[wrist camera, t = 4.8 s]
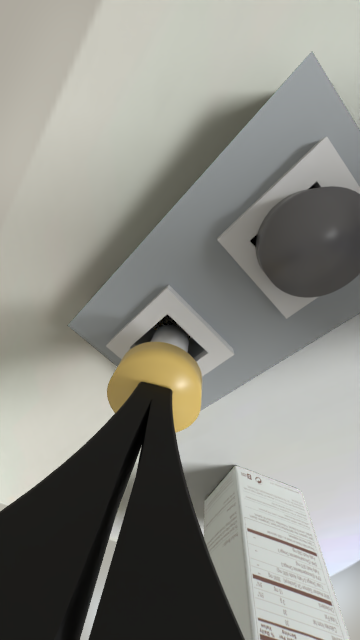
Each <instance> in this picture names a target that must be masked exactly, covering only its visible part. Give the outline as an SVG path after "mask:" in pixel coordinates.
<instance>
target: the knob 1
mask: <svg viewBox="0 0 360 640" xmlns="http://www.w3.org/2000/svg"><path fill="white" fill-rule="evenodd" d="M188 346H189V339H188V336H187V334H186V333H185V331H184V330H182V329H181V328H179V327H177V326H174V325H165V326H162V327H160V328H158V329H157V330H156V331H155V333H154V335H153V337H152V340H151V342H146V343H142V344H139V345H137V346H135V347H133V348H132V349H130V350H129V351H128V352H127V353H126V354H125V355H124V357H123V358H122V360H121V362H120V364H119V365H118V367H117V369H116V371H115V372H114V374H113V376H112V377H111V379H110V381H109V384H108V388H107V397H108V401H109V403H110V406H111V408H112V409H113V411H114V412H115V413H116V412H117V411H118V410H119V409H120V407H121V406H122V405H123V404H124V403H125V402H126V400H127V399H128V398H129V397H130V395H131V394H132V393H133V391H134V390H135V388H136V387H137V385H138V384H139V383H140V382H146V383H150V384H154V385H158V386H162V387H166V388H170V389H171V390H172V391H173V394H172V408H173V420H174V427H175V432H179V431H181V430H183V429H185V428H187V427H188V426H190V425H191V424H192V423H193V422H194V421H195V420H196V419H197V417H198V415H199V412H200V409H201V395H202V374H201V370H200V367H199V366H198V364H197V362H196V361H195V360H194V358H193V357H192V356H191V355H190V354H188V353H187V352H188Z"/></svg>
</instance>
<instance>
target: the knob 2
mask: <svg viewBox="0 0 360 640" xmlns="http://www.w3.org/2000/svg"><path fill="white" fill-rule="evenodd" d="M255 248H256V256H257V260H258V263H259V265H260V267H261V269H262V270H263V272H264V273H265V274H266V276H267V277H268V278H269V279H270V281H271V282H272V283H273V284H274V285H275V286H276V287H277V288H279V289H280V290H281V291H283V292H285V293H287V294H290V295H292V296H297V297H304V298H311V297H319V296H323V295H327V294H330V293H332V292H335V291H337V290H339V289H341V288H342V287H344V286H346V285H347V284H348V283H350V282H351V281H352V280H353V279H355V278H356V277H357V276H358V275H359V274H360V194H359V193H357V192H356V191H353V190H351V189H348V188H344V187H336V186H329V187H320V188H314V189H307V190H303V191H299V192H296V193H294V194H292V195H289V196H287V197H286V198H284V199H283V200H281V201H280V202H279V203H278V204H276V205H275V206H274V207H273V208H272V209H271V210H270V211H269V213H268V214H267V215H266V217H265V218H264V220H263V222H262V224H261V226H260V228H259V231H258V234H257V238H256V247H255Z"/></svg>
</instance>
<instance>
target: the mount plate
mask: <svg viewBox="0 0 360 640" xmlns="http://www.w3.org/2000/svg"><path fill="white" fill-rule="evenodd" d="M329 186H336V187H344V188H348V189H351V190H353V191H356V192H357V193H359V194H360V130H359V128H358V126H357V125H356V123H355V121H354V120H353V118H352V116H351V115H350V113H349V111H348V110H347V108H346V106H345V105H344V103H343V101H342V100H341V98H340V97H339V95H338V93H337V92H336V90H335V88H334V87H333V85H332V83H331V82H330V80H329V78H328V77H327V75H326V73H325V72H324V70H323V68H322V67H321V65H320V63H319V62H318V60H317V58H316V57H315V55H314V53H313V52H311V53H310V54H309V55H308V56H307V57H306V58H305V59H304V61H303V62H302V63H301V64H300V65H299V66H298V67H297V68H296V70H295V71H294V72H293V73H292V74H291V75H290V76H289V77H288V78H287V80H286V81H285V82H284V83H283V84H282V85H281V86H280V87H279V89H278V90H277V91H276V92H275V93H274V94H273V95H272V96H271V98H270V99H269V100H268V101H267V102H266V103H265V104H264V105H263V107H262V108H261V109H260V110H259V111H258V112H257V113H256V114H255V116H254V117H253V118H252V119H251V120H250V121H249V122H248V123H247V125H246V126H245V127H244V128H243V129H242V130H241V131H240V132H239V133H238V135H237V136H236V137H235V138H234V139H233V140H232V141H231V142H230V144H229V145H228V146H227V147H226V148H225V149H224V150H223V151H222V153H221V154H220V155H219V156H218V157H217V158H216V159H215V160H214V162H213V163H212V164H211V165H210V166H209V167H208V168H207V169H206V171H205V172H204V173H203V174H202V175H201V176H200V177H199V178H198V180H197V181H196V182H195V183H194V184H193V185H192V186H191V187H190V188H189V190H188V191H187V192H186V193H185V194H184V195H183V196H182V197H181V199H180V200H179V201H178V202H177V203H176V204H175V205H174V206H173V208H172V209H171V210H170V211H169V212H168V213H167V214H166V215H165V217H164V218H163V219H162V220H161V221H160V222H159V223H158V224H157V226H156V227H155V228H154V229H153V230H152V231H151V232H150V233H149V234H148V236H147V237H146V238H145V239H144V240H143V241H142V242H141V243H140V245H139V246H138V247H137V248H136V249H135V250H134V251H133V252H132V254H131V255H130V256H129V257H128V258H127V259H126V260H125V261H124V263H123V264H122V265H121V266H120V267H119V268H118V269H117V270H116V272H115V273H114V274H113V275H112V276H111V277H110V278H109V279H108V281H107V282H106V283H105V284H104V285H103V286H102V287H101V288H100V289H99V291H98V292H97V293H96V294H95V295H94V296H93V297H92V298H91V300H90V301H89V302H88V303H87V304H86V305H85V306H84V307H83V309H82V310H81V311H80V312H79V313H78V314H77V315H76V316H75V318H74V319H73V320H72V321H71V322H70V323H69V324H68V325H67V326H69V327H70V328H71V329H72V330H74V331H75V332H76V333H77V334H78V335H80V336H81V337H82V338H83V339H84V340H86V341H87V342H88V343H89V344H91V345H92V346H93V347H94V348H95V349H97V350H98V351H99V352H100V353H101V354H103V355H104V356H105V357H106V358H108V359H109V360H110V361H111V362H112V363H114V364H115V365H116V366H117V367H118V365H119V364H120V362H121V360H122V358H123V357H124V355H125V354H126V353H127V352H128V351H129V350H130V349H132V348H133V347H135V346H137V345H139V344H142V343H146V342H151V340H152V337H153V335H154V333H155V331H156V330H155V329H154V328H152V327H153V326H154V325H155V324H157V323H158V322H159V321H160V320H161V319H162V318H163V317H164V316H166V315H167V314H168V315H169V316H170V317H171V318H172V319H173V320H174V321H175V322H176V323H177V324H178V325H180V326H181V327H182V328H183V329H184V330H185V331H186V332H187V333H188V334H189V335H190V336H191V337H192V338H190V339H189V346H188V352H187V353H188V354H190V355H191V356H192V357H193V358H194V360H195V361H196V362H197V364H198V366H199V367H200V370H201V374H202V395H201V409H200V411H201V410H203V409H204V408H206V407H208V406H209V405H211V404H212V403H214V402H216V401H217V400H219V399H221V398H222V397H224V396H225V395H227V394H229V393H230V392H232V391H234V390H235V389H237V388H238V387H240V386H242V385H243V384H245V383H247V382H248V381H250V380H251V379H253V378H255V377H256V376H258V375H260V374H261V373H263V372H265V371H266V370H268V369H269V368H271V367H273V366H274V365H276V364H278V363H279V362H281V361H282V360H284V359H286V358H287V357H289V356H291V355H292V354H294V353H295V352H297V351H299V350H300V349H302V348H304V347H305V346H307V345H308V344H310V343H312V342H313V341H315V340H317V339H318V338H320V337H322V336H323V335H325V334H326V333H328V332H330V331H331V330H333V329H335V328H336V327H338V326H339V325H341V324H343V323H344V322H346V321H348V320H349V319H351V318H352V317H354V316H356V315H357V314H359V313H360V274H359V275H358V276H357V277H356V278H355V279H353V280H352V281H351V282H350V283H348V284H347V285H346V286H344V287H342V288H341V289H339V290H337V291H335V292H332V293H330V294H327V295H323V296H319V297H311V298H304V297H297V296H292V295H290V294H287V293H285V292H283V291H281V290H280V289H279V288H277V287H276V286H275V285H274V284H273V283H272V282H271V281H270V279H269V278H268V277H267V276H266V274H265V273H264V272H263V270H262V269H261V267H260V265H259V263H258V260H257V256H256V248H255V246H254V245H253V244H252V243H251V242H250V240H251V239H252V238H253V237H255V236H256V235H257V234H258V231H259V228H260V226H261V224H262V222H263V220H264V218H265V217H266V215H267V214H268V213H269V211H270V210H271V209H272V208H273V207H274V206H275V205H276V204H278V203H279V202H280V201H281V200H283V199H284V198H286V197H287V196H289V195H292V194H294V193H296V192H299V191H303V190H307V189H314V188H320V187H329Z"/></svg>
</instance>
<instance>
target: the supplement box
mask: <svg viewBox="0 0 360 640" xmlns="http://www.w3.org/2000/svg"><path fill="white" fill-rule="evenodd" d="M204 540H205V542H206V545H207V548H208V551H209V554H210V557H211V559H212V562H213V564H214V567H215V569H216V572H217V574H218V577H219V579H220V582H221V584H222V587H223V589H224V592H225V594H226V597H227V599H228V601H229V604H230V606H231V608H232V611H233V613H234V616H235V618H236V620H237V622H238V625H239V627H240V629H241V632H242V634H243V636H244V638H245V640H350V638H349V635H348V632H347V629H346V626H345V623H344V620H343V617H342V614H341V610H340V607H339V604H338V601H337V598H336V595H335V592H334V589H333V586H332V583H331V580H330V577H329V574H328V570H327V567H326V564H325V561H324V558H323V555H322V552H321V549H320V545H319V542H318V540H317V537H316V534H315V530H314V527H313V524H312V521H311V518H310V515H309V512H308V509H307V506H306V503H305V499H304V496H303V494H302V491H300V490H299V489H297V488H294V487H292V486H289V485H287V484H284V483H282V482H279V481H276V480H274V479H271V478H269V477H266V476H263V475H261V474H258V473H255V472H253V471H250V470H247V469H245V468H242V467H239V466H234V467H233V468H232V470H231V471H230V472H229V473H228V474H227V476H226V477H225V478H224V479H223V480H222V482H221V483H220V484H219V485H218V486H217V487H216V489H215V490H214V491H213V492H212V493H211V494H210V496H209V497H208V498H207V499H206V500H205V501H204Z"/></svg>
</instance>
